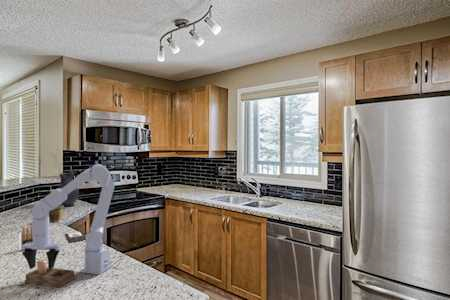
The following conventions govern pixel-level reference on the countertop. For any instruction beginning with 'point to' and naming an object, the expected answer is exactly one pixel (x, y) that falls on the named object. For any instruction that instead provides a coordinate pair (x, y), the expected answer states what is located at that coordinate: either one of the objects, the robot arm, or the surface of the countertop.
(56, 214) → the ceramic cup
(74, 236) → the chocolate bar
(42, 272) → the clay rod
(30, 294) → the countertop surface
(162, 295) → the countertop surface
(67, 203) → the pitcher
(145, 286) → the countertop surface
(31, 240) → the ammunition clip
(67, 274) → the rack
